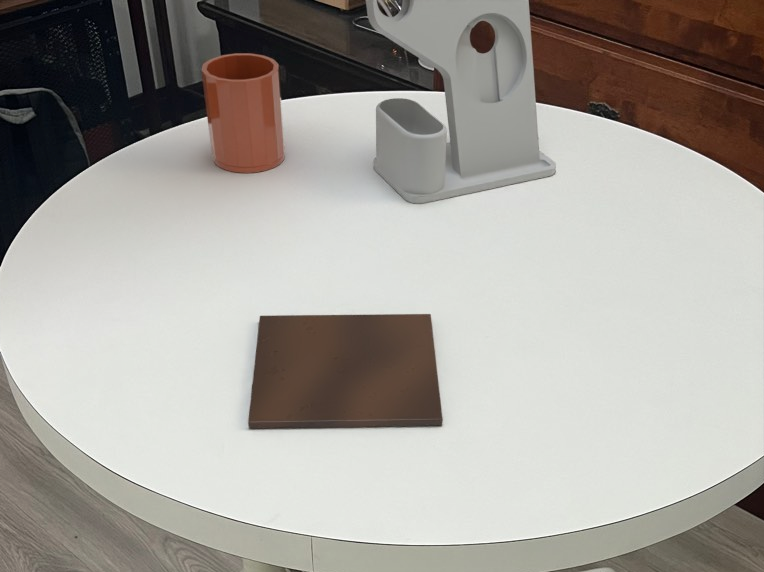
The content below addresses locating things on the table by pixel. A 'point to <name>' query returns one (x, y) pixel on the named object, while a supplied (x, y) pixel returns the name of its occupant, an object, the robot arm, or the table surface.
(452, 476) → the table surface
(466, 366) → the table surface
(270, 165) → the cup
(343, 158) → the table surface
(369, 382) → the coaster
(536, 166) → the phone holder
